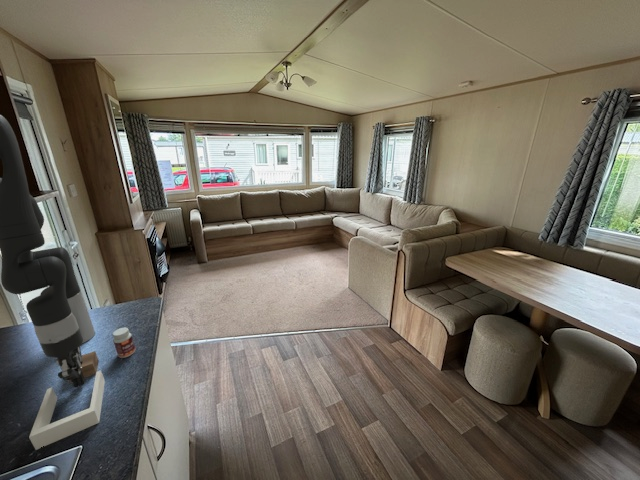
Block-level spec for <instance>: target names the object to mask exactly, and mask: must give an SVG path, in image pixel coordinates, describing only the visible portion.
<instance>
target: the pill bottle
mask: <svg viewBox="0 0 640 480" xmlns="http://www.w3.org/2000/svg"><path fill="white" fill-rule="evenodd" d="M112 336H113V340H112V341H113V345H114V348H115V351H116V353H117V356H118V357H119V358H121V359H124V358H128V357H130V356H132V355H134V353H135V352H136V346H135V343H134V338H133V335H132V333H131V332H130V330H129V328H128V327H120V328H118V329H116V330H114V331H113V332H112Z"/></svg>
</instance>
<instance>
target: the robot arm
mask: <svg viewBox="0 0 640 480" xmlns="http://www.w3.org/2000/svg"><path fill="white" fill-rule="evenodd" d="M20 149H21V148H20V146H19V142H18V140H17V136H16V134H15V132H14V130H13V128H12V126H11V124H10V122H9V121H8V120H7V118H5V116H3V115H2V114H0V159H1V162H2V168H3V169H2V170H3V171H2V177H0V255H1V271H0V272H1V274H0V275H1V276H0V279H1V280H0V282H1V286H2V287H3V289H4V290H5V291H7V292H8V293H10V294H12V295H21V294H27V293H30V292H34V291H37V290H41V289H43V290H42V291H40V294H39V295H38V296H35V297H34V298H32V299H31V300H29V301H28V302H27V304H26V305H25V306H26V311H27V313H28V316H29V317H30V320H31V322H32V325H33V329H34V334H35V336H36V338H37V341H38V342H39V344H40V347H41V349H42V351H43V353H44V354H43V355H44V356H46V357H48V358H56V360H55V361H56V365H57V366H58V367H60V369H61V370H60V372H58V373H57V377H58V378H59V379H61V380H63V381H65V382H69V380H71V381H72V383H71V384H72V386H73V388H79V387H81V386H84V385H85V383H86V378H84V375H83V373H82V371H81V370H82V366H81V365H82V363H83V361H82V356H81V355H82V350H81V349H82V348H81V345H82V344H84V343H86V342H88V341H89V340H91V339H92V338H93V337H95V334H96V331H95V328H94V325H93V322H92V319H91V316H90V313H89V311H88V307H87V305H86V303H85V299H84V296H83V293H82V290H81V288H80V285H79V283H78V280H77V276H76V273H75V270H74V266H73V263H72V259H71V256H70V253H69V252H68V250H67V249H66V248H65V247H63V246H59V247H54V248H47V249H42V250H41V249H40V250H35V249H39V248H41V247H43V246H44V245H45V242H46V241H45V237H44V235H43V232H42V229H43V226H44V222H45V219H44V218H45V217H44V214H43V213H42V209H40V207H39V205H38V204H39V203H38V202H37V200H36V199H35V197H33V195H31V193H30V190H29V184H28V179H27V175H26V170H25V167H24V161H23V157H22V153H21V150H20ZM33 250H35V251H33Z"/></svg>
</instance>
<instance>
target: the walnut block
mask: <svg viewBox="0 0 640 480" xmlns="http://www.w3.org/2000/svg"><path fill="white" fill-rule="evenodd" d="M81 356H82V361H83V363H82V365H81V366H82V370H81V371H82V373H83V375H84V378H85V379H86V378H88V377H92V376H94V375H96V372H97V371H98V368H99V362H100V361H99V358H98V355H97V352H96V350H95V351H91V352H88V353H84V354H81ZM68 383H69V384H73V383H72V381H71V380H69V381H68Z"/></svg>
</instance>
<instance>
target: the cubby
mask: <svg viewBox="0 0 640 480" xmlns="http://www.w3.org/2000/svg"><path fill="white" fill-rule="evenodd" d="M105 380H106V379H105V377H104V374H103V373H102V370H101V369H100V370H97V372H96V374H95V379H94V383H93V390H92V394H91V400H90V404H89V408H86V409H84V410H82V411H79V412H76V413H73V414H71V415H68V416H66V417H63V418H61V419H59V420H56V421H54V422H51V421H52V417H53V414H54V411H55V408H56V406H57V402H58V397H57V394H56V393H55V389H54V387H50V388H47V389H46V392H45V393H44V396H43V398H42V399H43V400H42V402H41V404H40V407H39V409H38V412H37V415H36V417H35V420H34V423H33V426H32V428H31V431H30V434H29V440H30V442H31V444H32V446H33V448H34V449H35V451H37V450H40V449H41V447H42V448H44V447H46V446H48V445H51V444H53V443H55V442H58V441H60V440H63V439H65V438H68V437H69V436H72V435H74V434H76V433H78V432H81V431H83V430H85V429H88V428H90V427H93V426H94V425H96V424H99V423H100V420H101V413H102V406H103V398H104V391H105V383H106V381H105ZM43 446H44V447H43Z"/></svg>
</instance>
